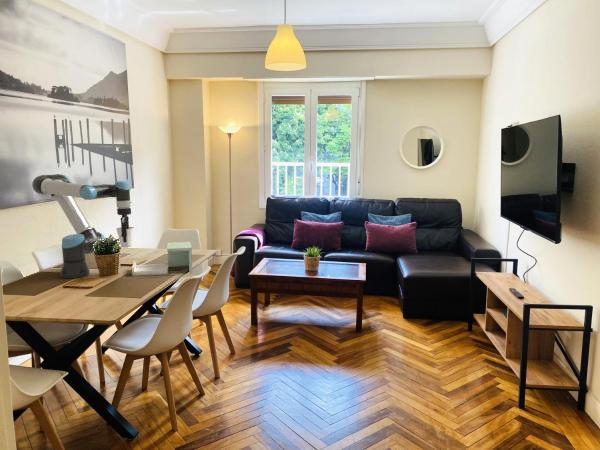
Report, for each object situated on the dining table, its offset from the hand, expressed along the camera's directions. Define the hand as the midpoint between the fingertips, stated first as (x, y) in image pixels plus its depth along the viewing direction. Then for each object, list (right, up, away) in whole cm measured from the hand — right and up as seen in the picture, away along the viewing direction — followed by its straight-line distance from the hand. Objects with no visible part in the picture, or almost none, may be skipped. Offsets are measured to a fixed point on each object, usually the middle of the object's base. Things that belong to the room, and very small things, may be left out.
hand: (126, 246), depth 260 cm
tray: (+12, -16, +7) cm, 21 cm away
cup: (0, -1, 0) cm, 0 cm away
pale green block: (+28, -15, +13) cm, 34 cm away
